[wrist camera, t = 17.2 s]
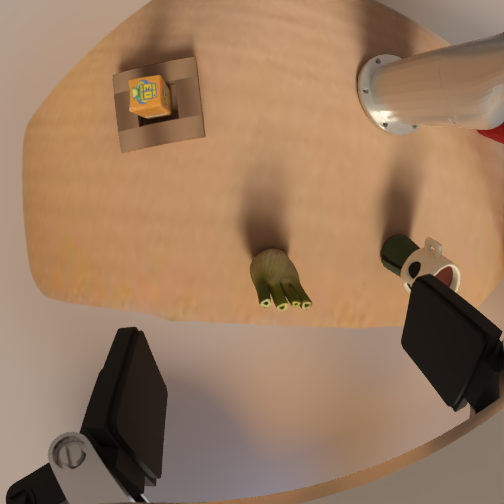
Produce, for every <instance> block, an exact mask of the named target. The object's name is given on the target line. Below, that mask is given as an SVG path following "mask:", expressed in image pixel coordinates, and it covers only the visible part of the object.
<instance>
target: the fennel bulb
mask: <svg viewBox="0 0 504 504" xmlns="http://www.w3.org/2000/svg"><path fill="white" fill-rule="evenodd" d="M250 274H251V278H252V281H253V283H254V285H255V288H256V290H257V294H258V298H259V304H260V305H261V306H263V307H264V308H269V307H270V304H271V298H270V294H271V296H272V298H273V301H274V303H275V306H276V308H277V309H278V310H279V311H285V310H286V308H287V305H288V302H287V300H286V298H287V299H288V301H289V303H290V304H291V305H292V307H294V308H295V307H298V306H299V305H300V307H301V308H302V309H308V308H310V307H311V306H312V301H311V300H310V299H309V297H308V296H307V294H306V293H305V291H304V289H303V288H302V286H301V284H300V280H299V275H298V272H297V270H296V268H295V266H294V264H293V263H292V261H291V260H290V259H289V257H288V256H287V254H286V253H285V252H283V251H282V250H280V249H276V248H269V249H265V250H263V251H261V252H259V253H258V254H257V255H256V256H255V257H254V259H253V260H252V262H251V265H250ZM285 297H286V298H285Z"/></svg>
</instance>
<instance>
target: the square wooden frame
mask: <svg viewBox="0 0 504 504" xmlns="http://www.w3.org/2000/svg"><path fill="white" fill-rule="evenodd" d="M155 75H161V76H162V78H163V80H164V81H165V83H166V85H167V86H168V88H169V90H170V91H171V93H172V112H173V114H172V115H171V116H166V117H161V118H155V119H146V118H144V117H142V116H139V115H137V114H135V113H132V112H130V111H129V104H130V90H129V80H130V79H136V78H142V77H148V76H155ZM113 87H114V98H115V108H116V117H117V125H118V133H119V140H120V147H121V153H125V152H130V151H135V150H139V149H143V148H148V147H153V146H158V145H163V144H168V143H173V142H179V141H184V140H190V139H196V138H203V137H205V129H204V121H203V113H202V105H201V96H200V88H199V79H198V70H197V62H196V58H195V57H189V58H183V59H178V60H172V61H167V62H162V63H157V64H153V65H148V66H144V67H140V68H136V69H132V70H128V71H125V72H121V73H118V74H114V75H113Z"/></svg>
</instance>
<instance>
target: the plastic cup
mask: <svg viewBox="0 0 504 504" xmlns="http://www.w3.org/2000/svg"><path fill="white" fill-rule="evenodd" d="M477 131H478V132H479V133H480V134H481V135H483V136H485V137H488V138H491V139H493V140H495V141H497V142H500V143H502V144H504V122H503V123H502V124H501V125H499V126H498V127H496V128H493V129H489V130H478V129H477Z"/></svg>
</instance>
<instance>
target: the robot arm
mask: <svg viewBox="0 0 504 504" xmlns="http://www.w3.org/2000/svg"><path fill="white" fill-rule="evenodd" d="M363 90H364V92H363ZM358 94H359V98H360V102H361V104H362V107H363V109H364V111H365V113H366V114H367V116H368V117H369V118H370V120H371V121H372V122H373V123H374V124H375V125H376V126H377V127H378V128H380V129H382V130H383V131H385V132H387V133H390V134H395V135H407V134H411V133H413V132H415V131H416V130H417V129H418V128H420V126H421V125H423V126H442V127H456V128H467V129H478V130H489V129H493V128H496V127H498V126H499V125H501V124H502V123H503V122H504V32H503V33H500V34H497V35H494V36H490V37H487V38H484V39H479V40H475V41H471V42H467V43H462V44H458V45H453V46H448V47H444V48H440V49H436V50H432V51H428V52H424V53H420V54H417V55H413V56H410V57H406V58H403V59H402V58H400V57H398V56H395V55H392V54H382V55H378V56H375V57H373V58H371V59H370V60H368V61H367V62H366V63H365V64H364V65H363V67H362V69H361V71H360V74H359V77H358ZM501 334H502V331H501V330H500V329H499V328H498V327H497V326H496V325H494V324H493V323H492V322H491V321H490V320H489V319H487V318H486V317H485V316H484V315H483V314H482V313H480V312H479V311H478V310H477V309H476V308H474V307H473V306H472V305H471V304H469V303H468V302H467V301H466V300H464V299H463V298H462V297H461V296H459V295H458V294H457V293H456V292H454V291H453V290H452V289H451V288H449V287H448V286H447V285H445V284H444V283H443V282H441V281H440V280H439V279H437V278H436V277H435V276H434V275H432V274H426V275H422V276H418V277H417V278H416V279H415V281H414V282H413V284H412V287H411V293H410V299H409V305H408V310H407V315H406V320H405V325H404V329H403V334H402V338H401V344H402V347H403V349H404V350H405V351H406V352H407V353H408V355H409V356H410V357H411V359H412V360H413V361H414V362H415V364H416V365H417V366H418V368H419V369H420V370H421V371H422V373H423V374H424V375H425V377H426V378H427V379H428V380H429V382H430V383H431V384H432V386H433V387H434V388H435V390H436V391H437V392H438V394H439V395H440V396H441V398H442V399H443V400H444V402H445V403H446V404H447V405H448V406H451V407H452V408H453V410H454V411H455V412H457V411H458V410H460V409H462V408H463V407H465V406H466V405H467V403H469V404H470V405H471V406H470V417H469V419H468V420H466V421H465V422H463V423H461V424H460V425H458V426H456V427H455V428H453V429H451V430H450V431H448V432H446V433H444V434H443V435H441V436H439V437H437V438H435V439H433V440H431V441H429V442H427V443H425V444H424V445H422V446H420V447H417V448H415V449H414V450H411V451H409V452H407V453H405V454H403V455H400V456H398V457H396V458H393V459H391V460H389V461H386V462H384V463H381V464H379V465H376V466H373V467H371V468H368V469H365V470H363V471H360V472H357V473H354V474H351V475H348V476H345V477H341V478H338V479H335V480H332V481H328V482H325V483H321V484H317V485H313V486H309V487H305V488H301V489H297V490H292V491H287V492H282V493H277V494H271V495H265V496H258V497H251V498H245V499H244V498H243V499H235V500H223V501H212V502H193V503H150V502H149V501H148V500H147V499H146V498H145V497H144V495H143V493H144V486H156V478H158V479H159V478H161V473H162V456H163V442H164V429H165V417H166V406H167V396H168V394H167V388H166V385H165V383H164V381H163V378H162V376H161V374H160V372H159V369H158V367H157V365H156V362H155V360H154V357H153V355H152V352H151V350H150V348H149V345H148V342H147V340H146V338H145V335H144V333H143V331H138V329H137V328H136V327H127V328H120V329H118V331H117V333H116V336H115V339H114V341H113V344H112V346H111V349H110V351H109V354H108V356H107V359H106V362H105V364H104V367H103V369H102V370H101V371H100V373H99V375H98V378H97V381H96V384H95V387H94V390H93V392H92V395H91V398H90V401H89V404H88V407H87V410H86V414H85V417H84V420H83V423H82V427H81V430H80V433H77V432H67V433H64V434H61V435H60V436H58V437H57V438H56V439H55V440H54V441H53V442H52V443H51V445H50V448H49V450H48V459H49V463H47V464H46V465H44V466H42V467H41V468H39V469H38V470H36V471H34V472H33V473H31V474H30V475H28V476H26V477H24V478H23V479H21V480H19V481H17V482H16V483H14V484H13V485H12V486H11V487H10V488H9V490H8V492H7V495H6V504H504V338H503V341H502V342H501V341H500V340H499V338H500V336H501Z"/></svg>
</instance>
